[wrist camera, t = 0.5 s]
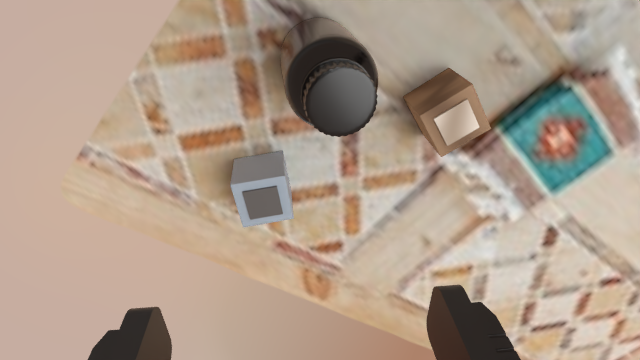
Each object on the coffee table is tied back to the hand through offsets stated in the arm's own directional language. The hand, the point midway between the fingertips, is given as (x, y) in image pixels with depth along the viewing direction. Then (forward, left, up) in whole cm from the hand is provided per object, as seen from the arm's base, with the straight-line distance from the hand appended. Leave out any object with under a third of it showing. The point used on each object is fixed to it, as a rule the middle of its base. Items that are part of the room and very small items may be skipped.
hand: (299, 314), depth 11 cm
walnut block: (-13, +10, -28) cm, 32 cm away
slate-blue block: (+6, +10, -28) cm, 30 cm away
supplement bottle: (-4, +1, -28) cm, 28 cm away
